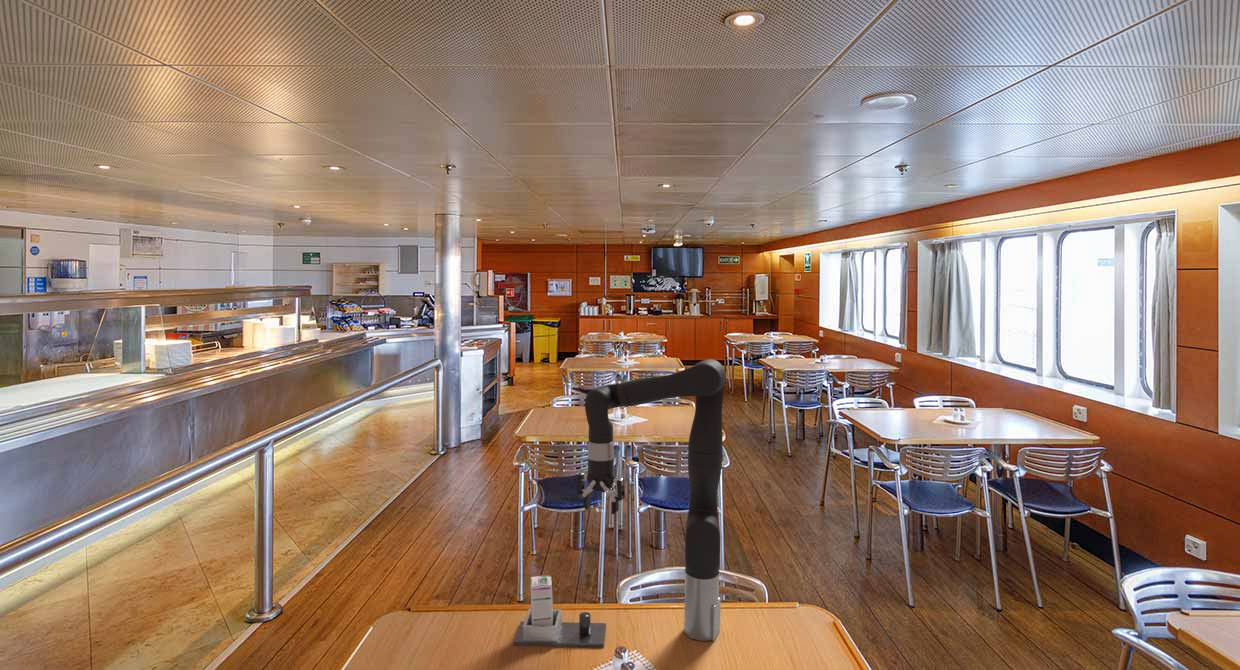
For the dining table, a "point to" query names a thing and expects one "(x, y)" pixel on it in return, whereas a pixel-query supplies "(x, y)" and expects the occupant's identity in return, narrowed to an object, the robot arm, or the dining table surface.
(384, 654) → the dining table surface
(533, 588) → the syrup box
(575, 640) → the bolt plate
